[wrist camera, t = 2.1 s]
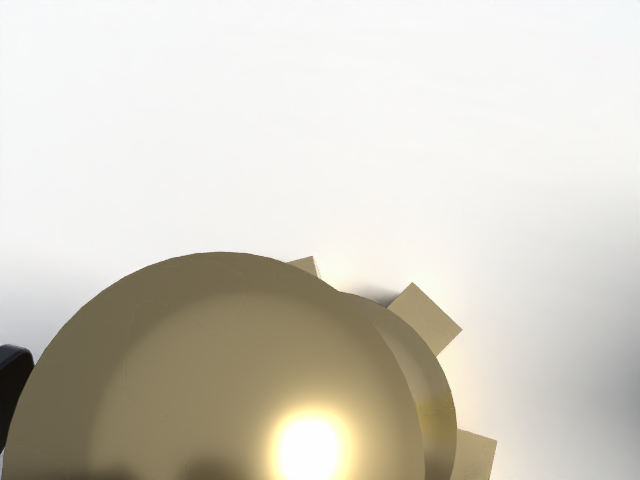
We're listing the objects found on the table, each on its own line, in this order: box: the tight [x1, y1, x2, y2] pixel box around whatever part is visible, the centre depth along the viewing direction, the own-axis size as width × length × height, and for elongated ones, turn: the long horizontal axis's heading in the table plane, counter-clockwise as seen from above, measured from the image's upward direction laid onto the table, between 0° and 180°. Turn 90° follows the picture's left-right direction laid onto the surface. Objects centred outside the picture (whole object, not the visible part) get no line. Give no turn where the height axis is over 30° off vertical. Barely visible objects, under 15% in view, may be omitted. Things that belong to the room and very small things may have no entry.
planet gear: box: [1, 252, 497, 480], centre depth 11 cm, size 9×8×12 cm
